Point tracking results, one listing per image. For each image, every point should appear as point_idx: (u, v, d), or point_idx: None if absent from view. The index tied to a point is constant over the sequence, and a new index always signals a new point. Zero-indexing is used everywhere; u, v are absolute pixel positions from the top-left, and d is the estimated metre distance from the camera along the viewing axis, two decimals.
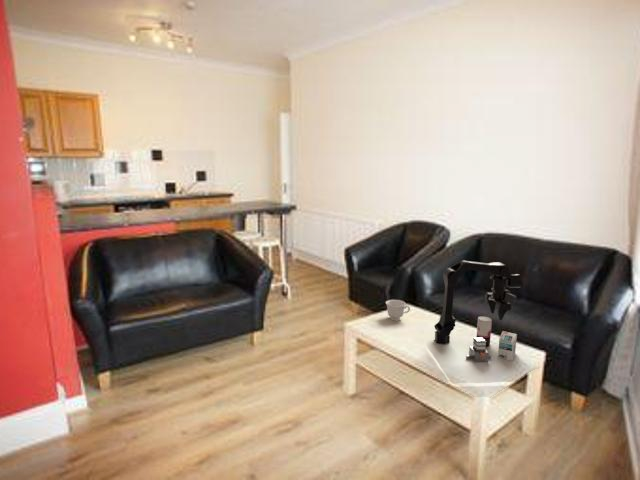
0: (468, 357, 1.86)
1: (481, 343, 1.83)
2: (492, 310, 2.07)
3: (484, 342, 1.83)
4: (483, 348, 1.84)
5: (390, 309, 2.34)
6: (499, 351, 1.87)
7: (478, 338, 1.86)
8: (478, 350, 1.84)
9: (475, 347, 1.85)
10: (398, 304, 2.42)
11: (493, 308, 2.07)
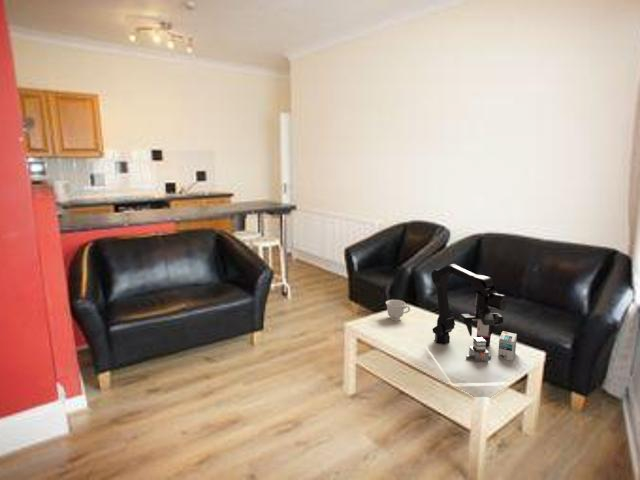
0: (468, 357, 1.86)
1: (481, 343, 1.83)
2: (489, 331, 1.85)
3: (484, 342, 1.83)
4: (483, 348, 1.84)
5: (390, 309, 2.34)
6: (499, 351, 1.87)
7: (478, 338, 1.86)
8: (478, 350, 1.84)
9: (475, 347, 1.85)
10: (398, 304, 2.42)
11: (490, 330, 1.85)
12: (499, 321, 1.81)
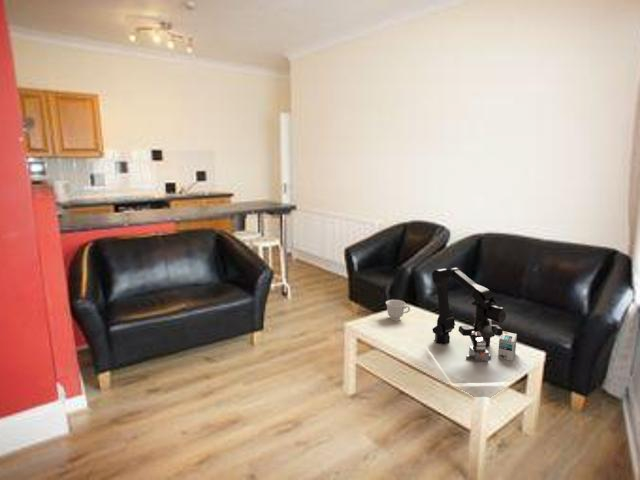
0: (468, 357, 1.86)
1: (481, 343, 1.83)
2: None
3: (484, 342, 1.83)
4: (483, 348, 1.84)
5: (390, 309, 2.34)
6: (499, 351, 1.87)
7: (478, 338, 1.86)
8: (478, 350, 1.84)
9: (475, 347, 1.85)
10: (398, 304, 2.42)
11: None
12: (498, 333, 1.82)
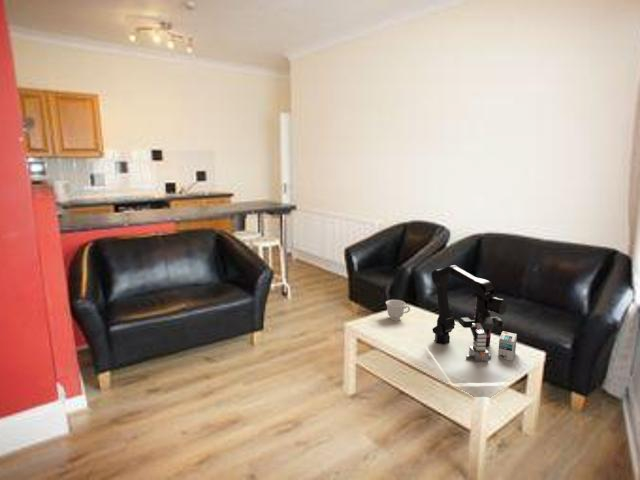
0: (468, 357, 1.86)
1: (482, 335, 1.83)
2: None
3: (485, 334, 1.83)
4: (484, 340, 1.83)
5: (390, 309, 2.34)
6: (499, 351, 1.87)
7: (479, 330, 1.85)
8: (479, 342, 1.83)
9: (476, 339, 1.85)
10: (398, 304, 2.42)
11: None
12: (499, 325, 1.81)
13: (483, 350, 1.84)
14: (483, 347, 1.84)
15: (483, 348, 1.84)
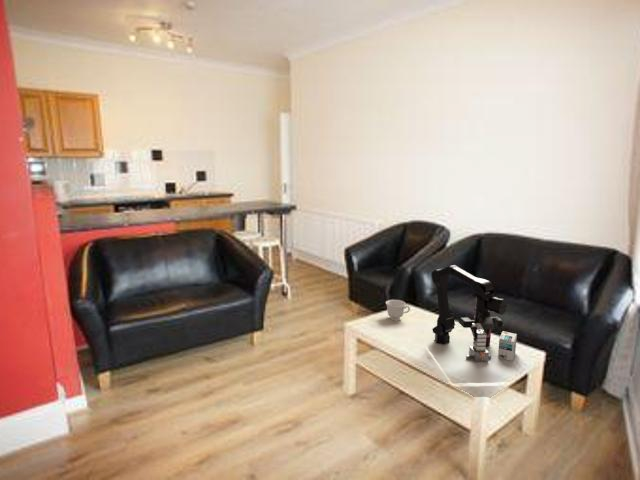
0: (468, 357, 1.86)
1: (482, 335, 1.83)
2: None
3: (485, 334, 1.83)
4: (484, 340, 1.83)
5: (390, 309, 2.34)
6: (499, 351, 1.87)
7: (479, 330, 1.85)
8: (479, 342, 1.83)
9: (476, 339, 1.85)
10: (398, 304, 2.42)
11: None
12: (499, 325, 1.81)
13: (483, 350, 1.84)
14: (483, 347, 1.84)
15: (483, 348, 1.84)
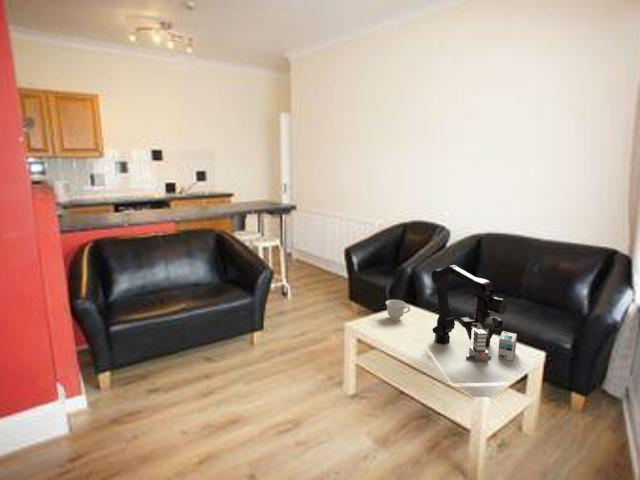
0: (468, 357, 1.86)
1: (482, 335, 1.83)
2: (489, 335, 1.85)
3: (485, 334, 1.83)
4: (484, 340, 1.83)
5: (390, 309, 2.34)
6: (499, 351, 1.87)
7: (479, 330, 1.85)
8: (479, 342, 1.83)
9: (476, 339, 1.85)
10: (398, 304, 2.42)
11: (490, 333, 1.85)
12: (499, 325, 1.81)
13: (483, 350, 1.84)
14: (483, 347, 1.84)
15: (483, 348, 1.84)
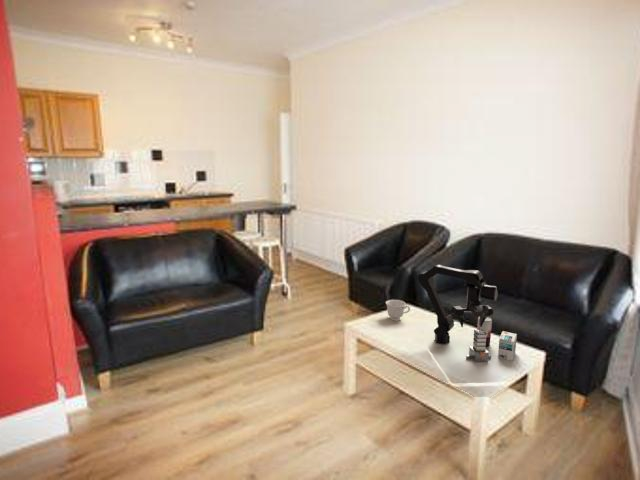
0: (468, 357, 1.86)
1: (482, 335, 1.83)
2: (480, 323, 1.95)
3: (485, 334, 1.83)
4: (484, 340, 1.83)
5: (390, 309, 2.34)
6: (499, 351, 1.87)
7: (479, 330, 1.85)
8: (479, 342, 1.83)
9: (476, 339, 1.85)
10: (398, 304, 2.42)
11: (481, 321, 1.94)
12: (489, 313, 1.90)
13: (483, 350, 1.84)
14: (483, 347, 1.84)
15: (483, 348, 1.84)
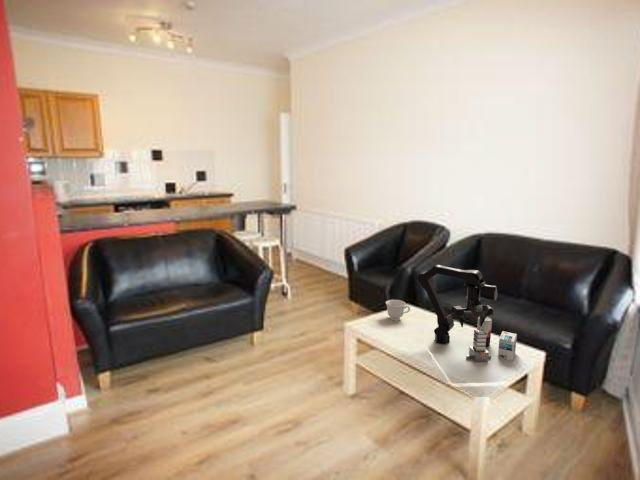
0: (468, 357, 1.86)
1: (482, 335, 1.83)
2: (480, 323, 1.95)
3: (485, 334, 1.83)
4: (484, 340, 1.83)
5: (390, 309, 2.34)
6: (499, 351, 1.87)
7: (479, 330, 1.85)
8: (479, 342, 1.83)
9: (476, 339, 1.85)
10: (398, 304, 2.42)
11: (481, 321, 1.94)
12: (489, 313, 1.90)
13: (483, 350, 1.84)
14: (483, 347, 1.84)
15: (483, 348, 1.84)
